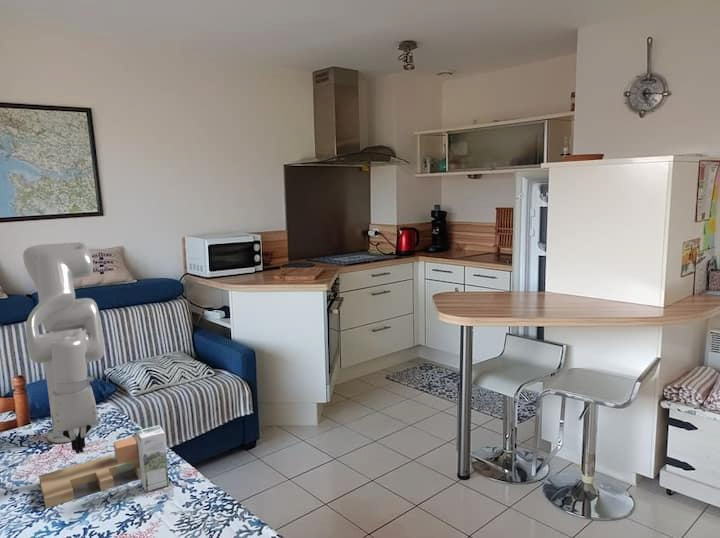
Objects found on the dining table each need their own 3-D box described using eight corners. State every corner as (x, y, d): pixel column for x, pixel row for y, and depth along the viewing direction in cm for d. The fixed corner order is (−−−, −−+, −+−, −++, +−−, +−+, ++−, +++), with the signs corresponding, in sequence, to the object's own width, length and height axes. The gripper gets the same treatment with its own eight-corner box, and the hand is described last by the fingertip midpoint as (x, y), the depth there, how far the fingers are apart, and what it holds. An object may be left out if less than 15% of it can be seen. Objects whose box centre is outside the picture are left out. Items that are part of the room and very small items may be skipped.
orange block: (115, 457, 147) (113, 441, 146) (134, 452, 149) (133, 436, 149) (118, 464, 143) (116, 448, 142) (138, 459, 145) (136, 443, 145)
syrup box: (164, 476, 140) (159, 423, 138) (169, 486, 135) (164, 431, 133) (141, 483, 137) (135, 429, 135) (146, 493, 132) (140, 437, 130)
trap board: (40, 484, 139) (37, 460, 138) (137, 456, 153) (135, 434, 152) (45, 508, 127) (42, 482, 127) (150, 475, 141) (148, 451, 140)
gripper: (100, 374, 146) (106, 437, 149) (36, 387, 137) (44, 454, 141) (106, 382, 140) (112, 448, 143) (39, 396, 131) (48, 466, 135)
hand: (79, 451), depth 142 cm, fingers closed
